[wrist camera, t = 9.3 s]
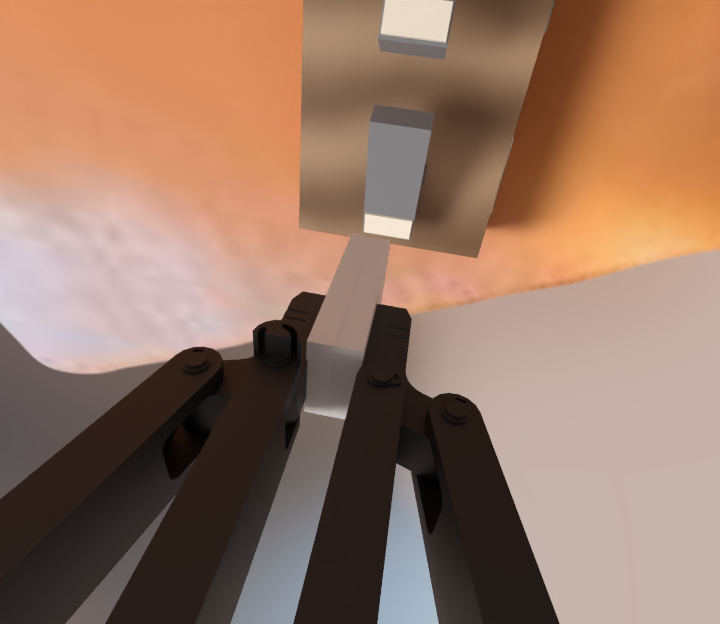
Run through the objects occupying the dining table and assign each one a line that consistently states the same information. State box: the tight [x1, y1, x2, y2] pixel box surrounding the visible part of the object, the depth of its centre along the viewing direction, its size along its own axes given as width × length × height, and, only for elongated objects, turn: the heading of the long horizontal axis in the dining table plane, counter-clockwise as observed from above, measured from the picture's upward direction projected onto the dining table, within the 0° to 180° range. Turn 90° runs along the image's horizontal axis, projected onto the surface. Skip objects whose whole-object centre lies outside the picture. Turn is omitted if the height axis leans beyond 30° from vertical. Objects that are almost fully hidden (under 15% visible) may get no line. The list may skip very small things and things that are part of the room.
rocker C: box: [363, 105, 434, 240], centre depth 26 cm, size 8×3×2 cm, turn 173°
